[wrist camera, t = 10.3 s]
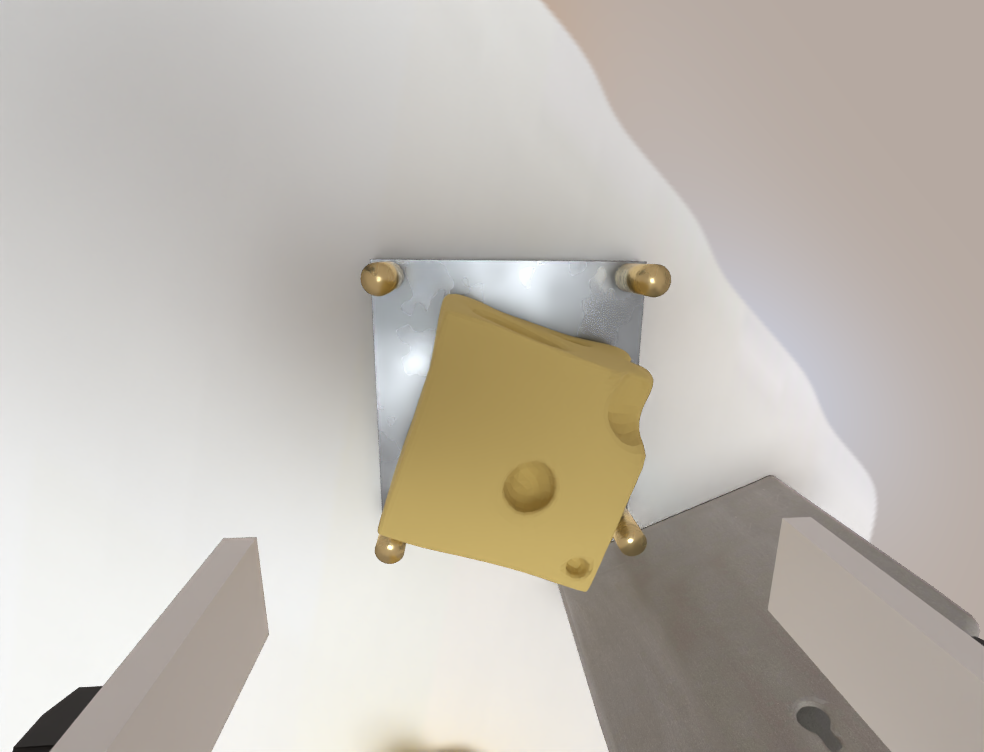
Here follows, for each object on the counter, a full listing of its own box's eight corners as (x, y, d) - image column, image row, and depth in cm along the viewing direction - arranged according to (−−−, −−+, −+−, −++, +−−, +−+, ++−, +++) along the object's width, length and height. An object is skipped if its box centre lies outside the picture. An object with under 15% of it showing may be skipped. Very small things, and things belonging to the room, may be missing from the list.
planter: (591, 652, 36) (737, 1087, 17) (551, 565, 34) (665, 946, 15) (802, 566, 35) (1192, 918, 17) (773, 472, 33) (1177, 749, 15)
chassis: (373, 259, 28) (355, 259, 23) (639, 261, 29) (676, 262, 24) (385, 517, 32) (371, 565, 27) (620, 511, 33) (649, 557, 28)
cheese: (615, 344, 29) (693, 387, 20) (549, 502, 31) (590, 612, 22) (448, 284, 28) (442, 298, 18) (391, 454, 30) (358, 548, 20)
